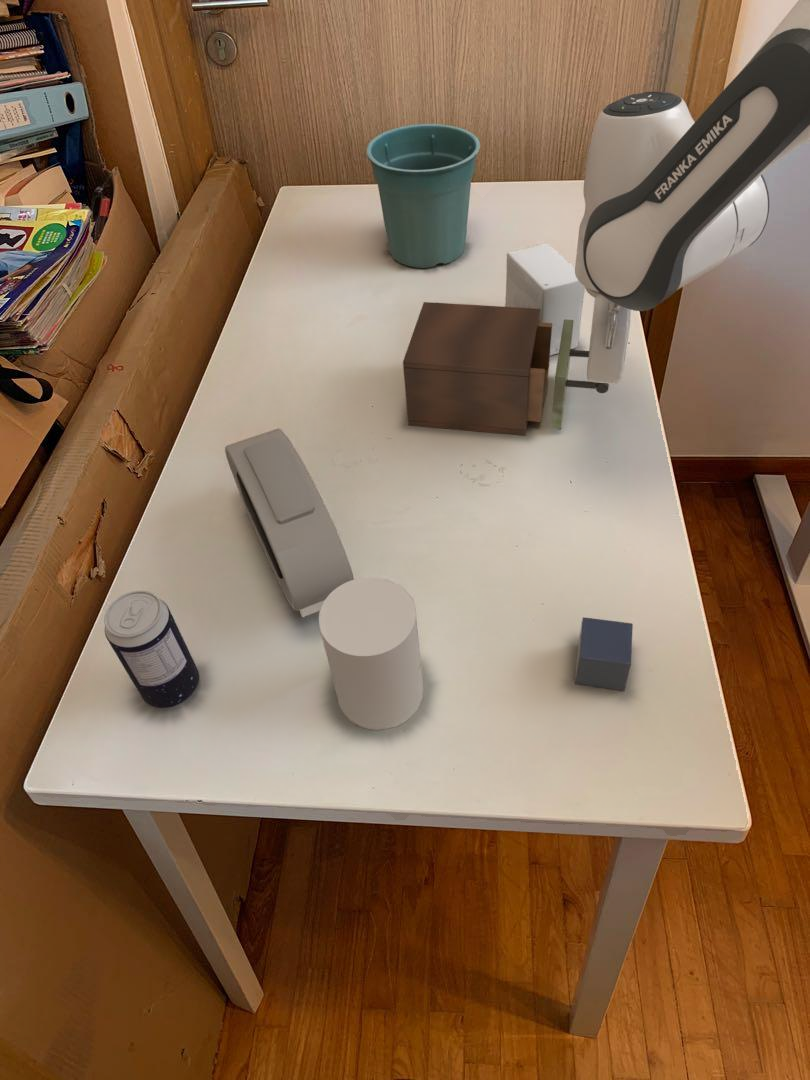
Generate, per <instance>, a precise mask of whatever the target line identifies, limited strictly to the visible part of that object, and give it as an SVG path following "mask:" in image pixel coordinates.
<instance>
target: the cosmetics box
mask: <svg viewBox="0 0 810 1080" xmlns="http://www.w3.org/2000/svg"><path fill="white" fill-rule="evenodd" d="M505 277H506V279H505V280H506V281H505V303H504V305H505V306H504V307H518V308H535V309H540V323H552V335H551V348H550V356H553V355H556V354H559V348H560V342H561V335H562V328H563V321H564V319H567V320H574V322H573V333H572V343H571V350H575V349H577V348H578V347H579V340H580V331H581V321H582V315H583V305H584V299H585V291H586V289H585V286H584V285H583V284H581V283H580V282H579V281H578V279H577V278H576V275H575V266H573V265H572V264H571V263H570V262H568V260H566V258H564V257H563V256H562V255H561V254H560V253H559V252H558V251H557V250H555V248H554V247H552V246H551V245H550V244H549V243H548V242H546V243H541V244H538V245H537V244H536V245H533V246H528V247H526V248H521V249H517V250H513V251H508V252H507V254H506V276H505Z"/></svg>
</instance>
